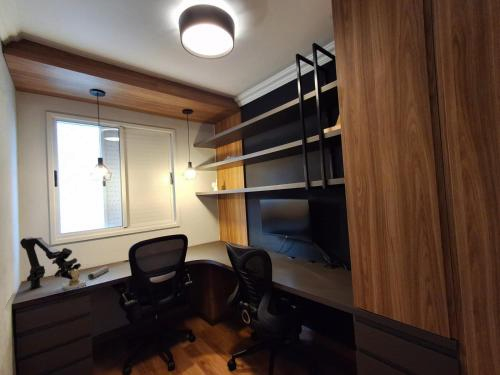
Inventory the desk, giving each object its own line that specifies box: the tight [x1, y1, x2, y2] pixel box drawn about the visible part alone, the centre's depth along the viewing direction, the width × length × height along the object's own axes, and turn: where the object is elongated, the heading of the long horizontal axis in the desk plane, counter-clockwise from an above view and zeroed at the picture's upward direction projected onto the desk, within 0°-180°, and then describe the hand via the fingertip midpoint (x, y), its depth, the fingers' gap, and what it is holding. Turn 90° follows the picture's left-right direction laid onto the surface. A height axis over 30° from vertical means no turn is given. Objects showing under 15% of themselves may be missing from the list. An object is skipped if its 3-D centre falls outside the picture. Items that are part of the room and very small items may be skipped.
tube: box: [87, 265, 110, 280], centre depth 210 cm, size 5×5×25 cm
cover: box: [67, 269, 80, 285], centre depth 182 cm, size 7×7×12 cm
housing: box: [61, 279, 87, 291], centre depth 181 cm, size 12×12×3 cm
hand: (75, 277), depth 181 cm, fingers closed on cover, 6 cm apart
